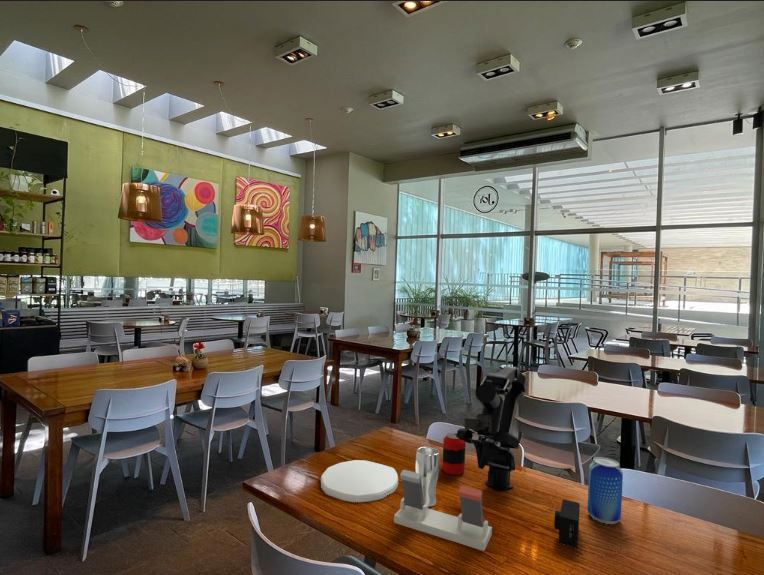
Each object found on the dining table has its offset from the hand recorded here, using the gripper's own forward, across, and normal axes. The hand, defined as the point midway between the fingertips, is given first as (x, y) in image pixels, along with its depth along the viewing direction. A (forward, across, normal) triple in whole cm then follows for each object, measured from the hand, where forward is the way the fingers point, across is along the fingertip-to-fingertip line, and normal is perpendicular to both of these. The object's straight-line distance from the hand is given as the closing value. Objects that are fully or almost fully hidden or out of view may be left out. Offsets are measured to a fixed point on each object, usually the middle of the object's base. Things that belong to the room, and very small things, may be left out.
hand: (480, 468), depth 121 cm
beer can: (+1, +18, +33) cm, 38 cm away
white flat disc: (+13, -36, -12) cm, 40 cm away
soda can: (-1, -26, +17) cm, 31 cm away
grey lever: (+14, -9, -12) cm, 21 cm away
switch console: (+18, -3, -6) cm, 19 cm away
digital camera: (+9, +16, +18) cm, 26 cm away
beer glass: (+12, -16, -2) cm, 20 cm away
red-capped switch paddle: (+14, +5, -4) cm, 15 cm away
